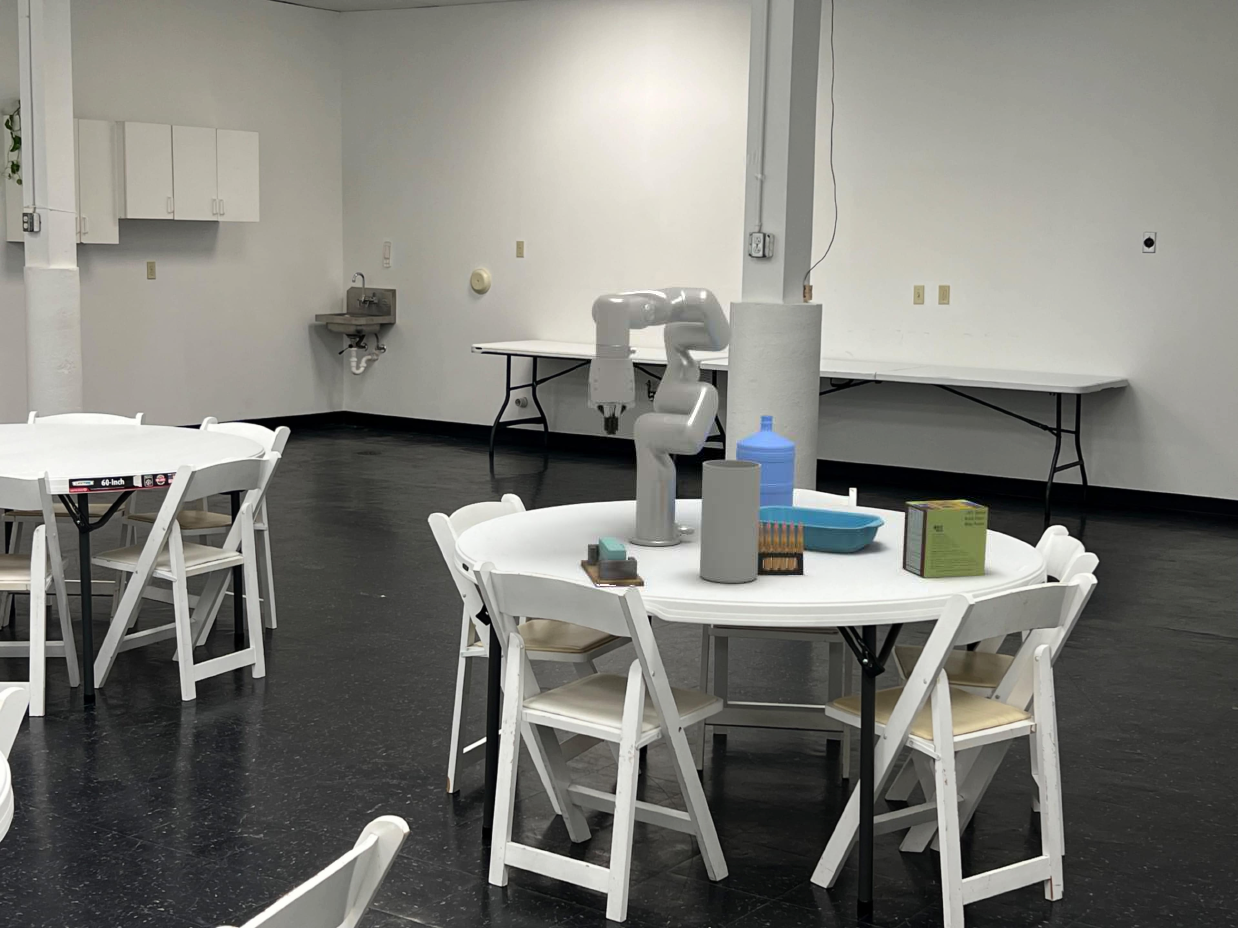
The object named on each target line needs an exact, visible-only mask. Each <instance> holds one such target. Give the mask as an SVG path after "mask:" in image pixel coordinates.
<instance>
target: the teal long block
mask: <svg viewBox="0 0 1238 928" xmlns="http://www.w3.org/2000/svg"><path fill="white" fill-rule="evenodd" d="M598 544H599V555H598V558H603V557H604V558H605V559H606V560H627V549H626V548H624V547H625V546H624V545H623V544H622V543H621V542H620V541H619V540H618V539H617V538H616V537H613V536H612V537H611V536H610V537H598ZM621 544H622V545H623V546H624V547H623V546H622V545H621Z"/></svg>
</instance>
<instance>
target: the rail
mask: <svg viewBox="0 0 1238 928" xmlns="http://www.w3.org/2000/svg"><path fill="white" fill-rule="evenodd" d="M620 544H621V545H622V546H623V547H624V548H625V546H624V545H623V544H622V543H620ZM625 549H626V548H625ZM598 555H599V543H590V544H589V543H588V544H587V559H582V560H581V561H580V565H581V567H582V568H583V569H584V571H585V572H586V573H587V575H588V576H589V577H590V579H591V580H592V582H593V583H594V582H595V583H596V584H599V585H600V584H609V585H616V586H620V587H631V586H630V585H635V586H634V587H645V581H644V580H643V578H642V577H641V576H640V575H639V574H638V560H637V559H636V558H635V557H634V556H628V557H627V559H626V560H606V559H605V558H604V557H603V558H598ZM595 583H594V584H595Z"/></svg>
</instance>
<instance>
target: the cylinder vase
mask: <svg viewBox="0 0 1238 928" xmlns="http://www.w3.org/2000/svg"><path fill="white" fill-rule="evenodd" d="M760 484H761V464H759V463H756V462H750V461H741V460H736V459H716V460H714V459H713V460H707V461H704V462H702V489H701V520H700V554H699V555H700V557H699V559H700V560H699V575H700V576H701V578H702V579H704V580H706V581H710V582H713V583H720V584H721V583H722V584H744V582H745V583H749V581H750V582H752V581H754V580H756V579H757V578H758V575H757V573H758V543H759V514H760Z"/></svg>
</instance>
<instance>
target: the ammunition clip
mask: <svg viewBox="0 0 1238 928" xmlns="http://www.w3.org/2000/svg"><path fill="white" fill-rule="evenodd" d="M779 545H780V546H779ZM804 571H805V570H804V549H803V526H802V522H801V521H800V523H799V525H798V532H797V539H796V548H795V526H794V522H793V521H792V522H791V525H790V532H789V539H788V547H787V527H786V522H785V521H784V522H783V525H782V531H781V539H780V540H779V526H778V522H777V521H776V523H775V526H774V534H773V540H772V539H771V525H770V522H769V521H768V523H767V526H766V534H765V541H764V538H763V524H762V521H760V523H759V543H758V573H757V576H788V575H803V576H804V575H805V574H804V573H805V572H804Z"/></svg>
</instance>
